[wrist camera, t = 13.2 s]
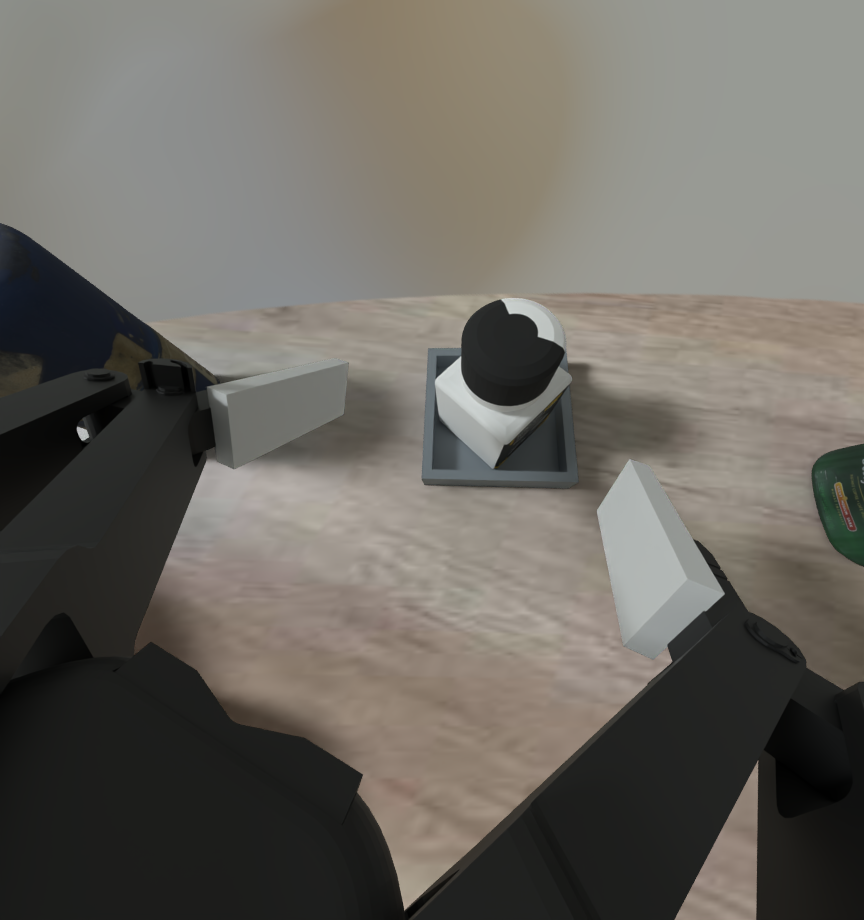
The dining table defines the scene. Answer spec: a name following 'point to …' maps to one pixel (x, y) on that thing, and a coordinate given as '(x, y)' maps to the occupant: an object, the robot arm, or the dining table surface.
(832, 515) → the coffee jar
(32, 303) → the canister
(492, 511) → the dining table surface
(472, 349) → the medicine bottle
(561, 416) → the tray
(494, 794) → the dining table surface
